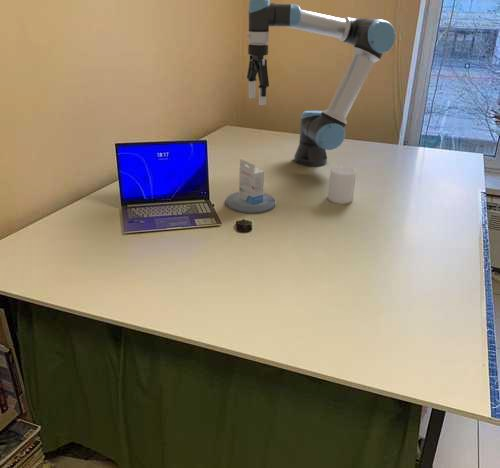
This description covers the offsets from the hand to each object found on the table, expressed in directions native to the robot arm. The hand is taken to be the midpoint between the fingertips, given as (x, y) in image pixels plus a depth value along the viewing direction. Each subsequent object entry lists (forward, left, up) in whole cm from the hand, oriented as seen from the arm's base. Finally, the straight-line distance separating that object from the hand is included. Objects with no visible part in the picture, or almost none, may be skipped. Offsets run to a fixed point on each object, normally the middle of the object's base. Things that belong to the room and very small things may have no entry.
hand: (257, 101), depth 191 cm
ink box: (+9, +30, -29) cm, 43 cm away
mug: (-25, +31, -31) cm, 50 cm away
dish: (+9, +30, -31) cm, 44 cm away
